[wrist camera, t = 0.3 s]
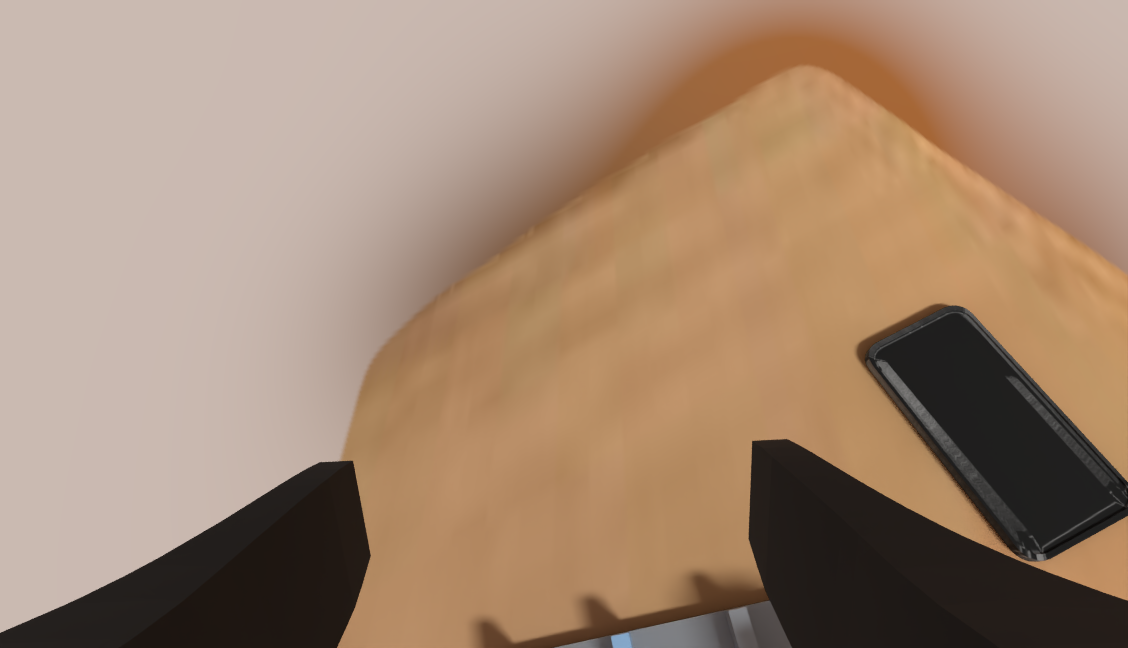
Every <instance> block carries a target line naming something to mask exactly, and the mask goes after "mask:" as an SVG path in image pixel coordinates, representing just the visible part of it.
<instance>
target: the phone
mask: <svg viewBox="0 0 1128 648" xmlns="http://www.w3.org/2000/svg"><path fill="white" fill-rule="evenodd" d="M865 361H866V365H867V367H868V368H869V370H870V371H871V372H872V374H873V375H874V376H875V377H876V379H877V380H878V381H879V383H880V384H881V385H882V386H883V388H884V389H885V390H886V391H887V393H888V394H889V395H890V397H891V398H892V399H893V400H894V402H895V403H896V404H897V405H898V407H899V408H900V409H901V411H902V412H903V413H904V414H905V416H906V417H907V418H908V420H909V421H910V422H911V423H912V425H913V426H914V427H915V428H916V430H917V431H918V432H919V434H920V435H921V436H922V437H923V439H924V440H925V441H926V442H927V444H928V445H929V446H930V448H931V449H932V450H933V451H934V453H935V454H936V455H937V457H938V458H939V459H940V460H941V462H942V463H943V464H944V465H945V467H946V468H947V469H948V471H949V472H950V473H951V474H952V476H953V477H954V478H955V479H956V481H957V482H958V483H959V485H960V486H961V487H962V488H963V490H964V491H965V492H966V494H967V495H968V496H969V497H970V499H971V500H972V501H973V502H974V504H975V505H976V506H977V508H978V509H979V510H980V511H981V513H982V514H983V515H984V516H985V518H986V519H987V520H988V522H989V523H990V524H991V525H992V527H993V528H994V529H995V531H996V532H997V533H998V534H999V536H1000V537H1001V538H1002V539H1003V541H1004V542H1005V543H1006V545H1007V546H1008V547H1009V548H1010V550H1011V551H1012V552H1013V553H1014V554H1015V555H1017V556H1018V557H1020V558H1022V559H1024V560H1027V561H1045V560H1048V559H1051V558H1053V557H1054V556H1056V555H1058V554H1060V553H1062V552H1063V551H1065V550H1067V549H1069V548H1071V547H1072V546H1074V545H1076V544H1078V543H1080V542H1081V541H1083V540H1085V539H1087V538H1089V537H1090V536H1092V535H1094V534H1096V533H1098V532H1099V531H1101V530H1103V529H1105V528H1107V527H1108V526H1110V525H1112V524H1114V523H1116V522H1117V521H1119V520H1121V519H1123V518H1125V517H1126V516H1128V482H1127V481H1126V480H1125V479H1124V478H1123V477H1122V476H1121V474H1120V473H1119V472H1118V471H1117V470H1116V469H1115V468H1114V467H1113V466H1112V465H1111V464H1110V462H1109V461H1108V460H1107V459H1106V458H1105V457H1104V456H1103V455H1102V454H1101V453H1100V452H1099V451H1098V449H1097V448H1096V447H1095V446H1094V445H1093V444H1092V443H1091V442H1090V441H1089V440H1088V439H1087V438H1086V436H1085V435H1084V434H1083V433H1082V432H1081V431H1080V430H1079V429H1078V428H1077V427H1076V426H1075V425H1074V423H1073V422H1072V421H1071V420H1070V419H1069V418H1068V417H1067V416H1066V415H1065V414H1064V413H1063V412H1062V410H1061V409H1060V408H1059V407H1058V406H1057V405H1056V404H1055V403H1054V402H1053V401H1052V400H1051V399H1050V397H1049V396H1048V395H1047V394H1046V393H1045V392H1044V391H1043V390H1042V389H1041V388H1040V387H1039V385H1038V384H1037V383H1036V382H1035V381H1034V380H1033V379H1032V378H1031V377H1030V376H1029V375H1028V374H1027V372H1026V371H1025V370H1024V369H1023V368H1022V367H1021V366H1020V365H1019V364H1018V363H1017V362H1016V361H1015V359H1014V358H1013V357H1012V356H1011V355H1010V354H1009V353H1008V352H1007V351H1006V350H1005V349H1004V348H1003V346H1002V345H1001V344H1000V343H999V342H998V341H997V340H996V339H995V338H994V337H993V336H992V334H991V333H990V332H989V331H988V330H987V329H986V328H985V327H984V326H983V325H982V324H981V323H980V321H979V320H978V319H977V318H976V317H975V316H974V315H973V314H972V313H971V312H970V311H969V310H967V309H965V308H963V307H960V306H948V307H945V308H943V309H941V310H939V311H937V312H935V313H933V314H931V315H929V316H927V317H925V318H923V319H922V320H920V321H918V322H916V323H914V324H912V325H910V326H908V327H906V328H904V329H902V330H900V331H898V332H896V333H894V334H892V335H890V336H888V337H886V338H884V339H883V340H881V341H879V342H877V343H875V344H874V345H873V346H872V347H871V348H870V349H869V350H868V352H867V353H866V357H865Z"/></svg>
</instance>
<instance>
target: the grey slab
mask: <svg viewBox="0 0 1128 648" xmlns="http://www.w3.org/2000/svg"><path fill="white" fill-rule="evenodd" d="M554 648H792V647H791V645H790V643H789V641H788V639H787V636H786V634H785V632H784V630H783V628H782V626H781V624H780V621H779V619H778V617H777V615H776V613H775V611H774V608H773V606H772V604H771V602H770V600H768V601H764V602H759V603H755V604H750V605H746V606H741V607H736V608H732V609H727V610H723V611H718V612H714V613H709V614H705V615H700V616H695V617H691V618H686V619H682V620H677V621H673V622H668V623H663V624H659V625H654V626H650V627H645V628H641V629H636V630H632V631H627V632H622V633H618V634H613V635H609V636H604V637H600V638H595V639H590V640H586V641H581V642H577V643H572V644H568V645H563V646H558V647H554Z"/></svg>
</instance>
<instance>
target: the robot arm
mask: <svg viewBox="0 0 1128 648" xmlns="http://www.w3.org/2000/svg"><path fill="white" fill-rule="evenodd" d="M749 541H750V545H751V548H752V551H753V554H754V558H755V561H756V564H757V567H758V570H759V573H760V576H761V579H762V582H763V585H764V588H765V591H766V593H767V595H768V598H769V600H770V602H771V604H772V606H773V608H774V611H775V613H776V615H777V617H778V619H779V621H780V624H781V626H782V628H783V630H784V632H785V634H786V636H787V639H788V641H789V643H790V645H791V647H792V648H1128V601H1127V600H1124V599H1121V598H1118V597H1115V596H1112V595H1109V594H1106V593H1103V592H1100V591H1098V590H1095V589H1092V588H1089V587H1087V586H1084V585H1081V584H1078V583H1076V582H1073V581H1070V580H1067V579H1065V578H1062V577H1059V576H1057V575H1054V574H1051V573H1048V572H1046V571H1043V570H1041V569H1038V568H1036V567H1033V566H1031V565H1028V564H1026V563H1023V562H1021V561H1018V560H1016V559H1013V558H1011V557H1009V556H1007V555H1004V554H1002V553H1000V552H998V551H995V550H993V549H991V548H988V547H986V546H984V545H982V544H979V543H977V542H975V541H972V540H970V539H968V538H966V537H964V536H962V535H959V534H957V533H955V532H953V531H951V530H949V529H947V528H945V527H943V526H941V525H939V524H937V523H935V522H933V521H931V520H929V519H927V518H925V517H924V516H922V515H920V514H918V513H916V512H914V511H912V510H910V509H908V508H906V507H904V506H902V505H901V504H899V503H897V502H895V501H893V500H892V499H890V498H888V497H886V496H884V495H883V494H881V493H879V492H877V491H876V490H874V489H872V488H870V487H869V486H867V485H865V484H864V483H862V482H860V481H858V480H857V479H855V478H853V477H852V476H850V475H848V474H847V473H845V472H843V471H842V470H840V469H838V468H837V467H835V466H833V465H832V464H830V463H828V462H827V461H825V460H823V459H822V458H820V457H818V456H817V455H815V454H813V453H812V452H810V451H808V450H807V449H805V448H803V447H801V446H799V445H798V444H796V443H794V442H792V441H790V440H788V439H782V440H761V441H752V464H751V490H750V516H749ZM370 556H371V555H370V550H369V544H368V539H367V533H366V528H365V523H364V517H363V512H362V507H361V501H360V496H359V491H358V485H357V480H356V475H355V469H354V464H353V461H338V462H320V463H318V464H316V465H313V466H312V467H310V468H308V469H306V470H304V471H302V472H300V473H299V474H297V475H295V476H294V477H292V478H290V479H289V480H287V481H285V482H284V483H282V484H280V485H279V486H277V487H276V488H274V489H272V490H271V491H269V492H268V493H266V494H264V495H263V496H261V497H260V498H258V499H256V500H255V501H253V502H252V503H250V504H249V505H247V506H245V507H244V508H242V509H240V510H239V511H237V512H236V513H234V514H232V515H231V516H229V517H228V518H226V519H224V520H223V521H221V522H220V523H218V524H216V525H215V526H213V527H211V528H209V529H208V530H206V531H204V532H202V533H201V534H199V535H197V536H196V537H194V538H192V539H190V540H189V541H187V542H185V543H184V544H182V545H180V546H178V547H177V548H175V549H173V550H172V551H170V552H168V553H166V554H165V555H163V556H161V557H160V558H158V559H156V560H154V561H152V562H150V563H148V564H147V565H145V566H143V567H141V568H139V569H137V570H135V571H134V572H131V573H129V574H128V575H126V576H124V577H122V578H120V579H118V580H116V581H114V582H112V583H110V584H108V585H106V586H104V587H101V588H99V589H98V590H96V591H93V592H91V593H89V594H87V595H85V596H83V597H81V598H79V599H77V600H75V601H73V602H70V603H68V604H66V605H64V606H62V607H59V608H57V609H54V610H52V611H50V612H48V613H45V614H43V615H41V616H38V617H36V618H34V619H31V620H29V621H27V622H25V623H22V624H20V625H18V626H15V627H13V628H10V629H8V630H6V631H4V632H1V633H0V648H337V646H338V644H339V642H340V640H341V638H342V635H343V633H344V631H345V629H346V627H347V624H348V622H349V620H350V618H351V615H352V613H353V611H354V608H355V605H356V602H357V599H358V596H359V593H360V590H361V587H362V584H363V580H364V577H365V573H366V570H367V567H368V563H369V560H370Z"/></svg>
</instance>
